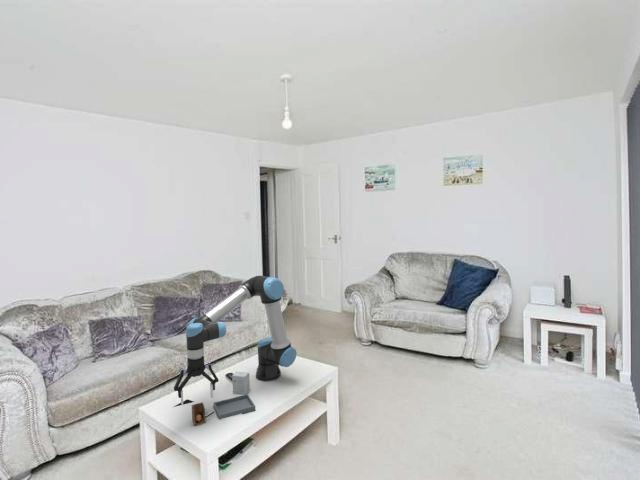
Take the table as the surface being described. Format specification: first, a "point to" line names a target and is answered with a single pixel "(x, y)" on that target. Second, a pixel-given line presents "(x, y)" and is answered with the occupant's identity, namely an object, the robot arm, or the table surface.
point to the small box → (241, 383)
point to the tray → (234, 406)
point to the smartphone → (185, 402)
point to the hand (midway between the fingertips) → (197, 400)
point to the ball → (198, 418)
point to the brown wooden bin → (198, 413)
